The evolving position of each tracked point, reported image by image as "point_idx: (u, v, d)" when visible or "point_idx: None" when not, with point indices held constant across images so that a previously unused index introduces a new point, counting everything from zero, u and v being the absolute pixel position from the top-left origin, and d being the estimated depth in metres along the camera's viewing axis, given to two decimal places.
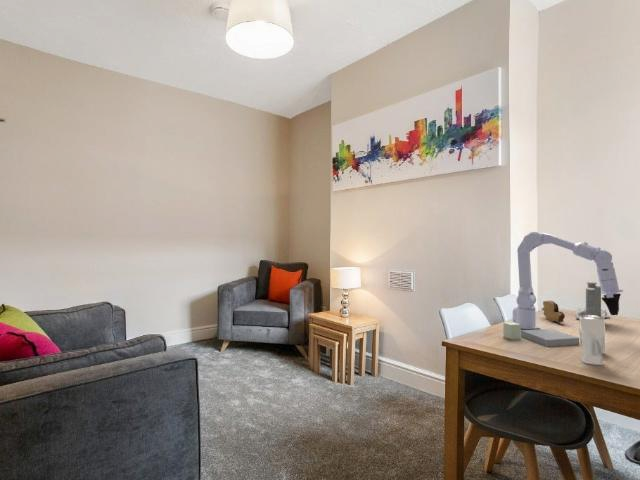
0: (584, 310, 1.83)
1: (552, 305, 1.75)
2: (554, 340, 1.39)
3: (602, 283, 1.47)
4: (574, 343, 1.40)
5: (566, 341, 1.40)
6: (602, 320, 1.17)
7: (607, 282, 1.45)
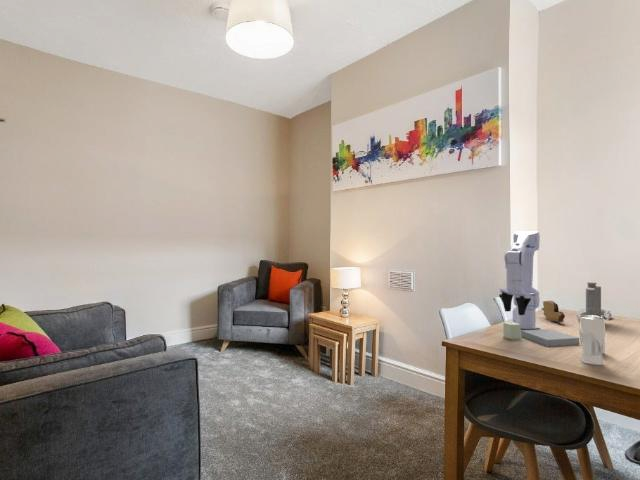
0: None
1: (552, 305, 1.75)
2: (554, 340, 1.39)
3: None
4: (574, 343, 1.40)
5: (566, 341, 1.40)
6: (602, 320, 1.17)
7: None
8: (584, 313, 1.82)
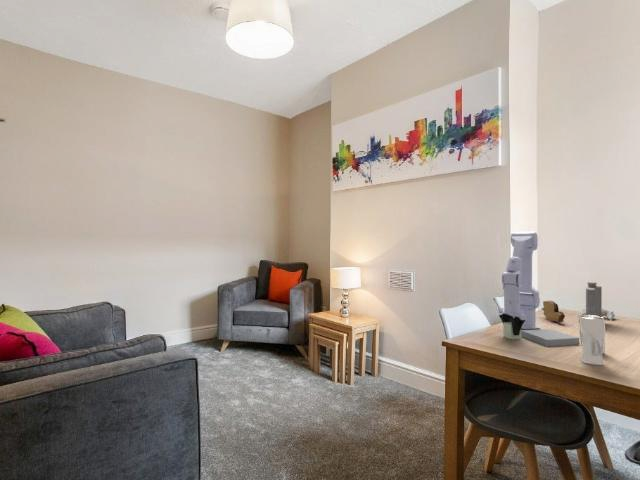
0: None
1: (552, 305, 1.75)
2: (554, 340, 1.39)
3: None
4: (574, 343, 1.40)
5: (566, 341, 1.40)
6: (602, 320, 1.17)
7: None
8: None
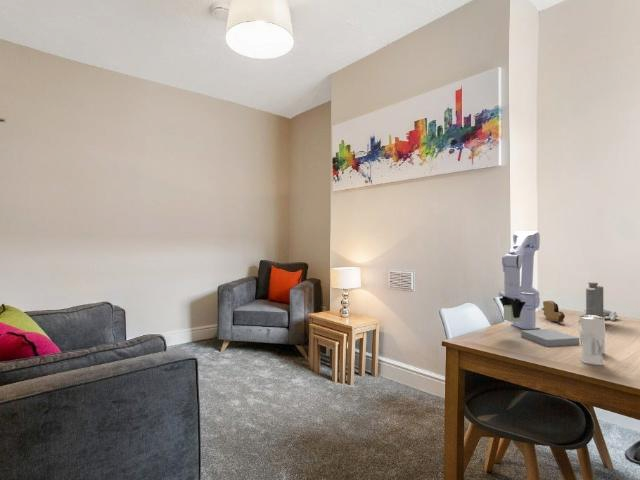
0: None
1: (552, 305, 1.75)
2: (554, 340, 1.39)
3: None
4: (574, 343, 1.40)
5: (566, 341, 1.40)
6: (602, 320, 1.17)
7: None
8: None
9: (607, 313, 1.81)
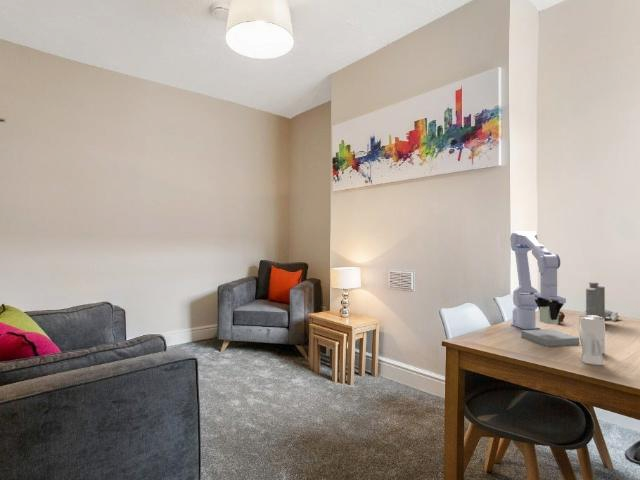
0: None
1: None
2: (554, 340, 1.39)
3: None
4: (574, 343, 1.40)
5: (566, 341, 1.40)
6: (602, 320, 1.17)
7: None
8: None
9: (608, 313, 1.80)
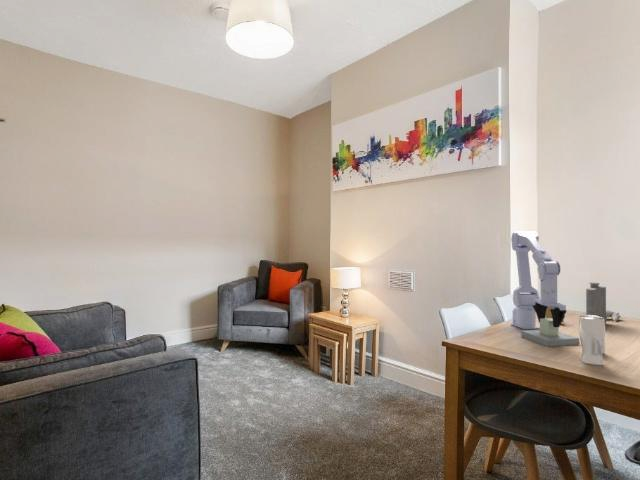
0: None
1: None
2: (554, 340, 1.39)
3: None
4: (574, 343, 1.40)
5: (566, 341, 1.40)
6: (602, 320, 1.17)
7: None
8: None
9: (610, 314, 1.79)
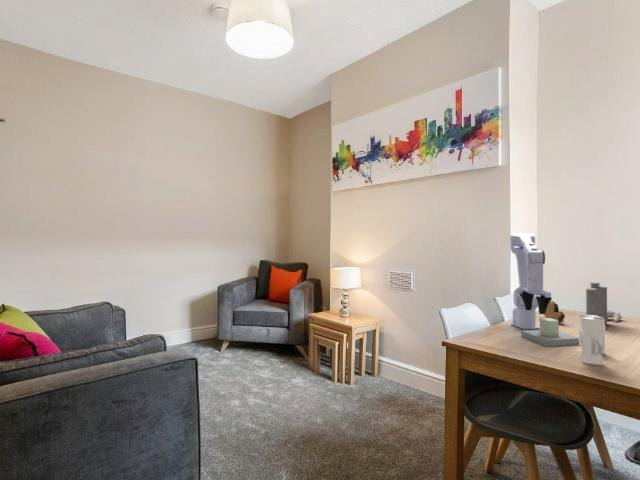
0: None
1: (552, 305, 1.75)
2: (554, 340, 1.39)
3: None
4: (574, 343, 1.40)
5: (566, 341, 1.40)
6: (602, 320, 1.17)
7: None
8: None
9: (611, 314, 1.79)
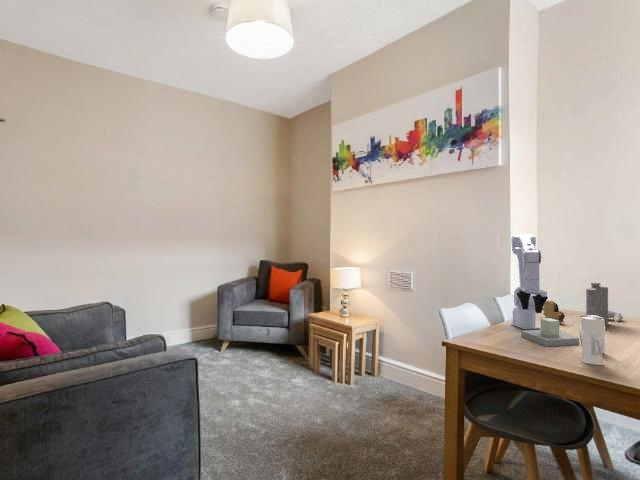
0: None
1: (552, 305, 1.75)
2: (554, 340, 1.39)
3: None
4: (574, 343, 1.40)
5: (565, 341, 1.40)
6: (602, 320, 1.17)
7: None
8: None
9: (612, 314, 1.78)
